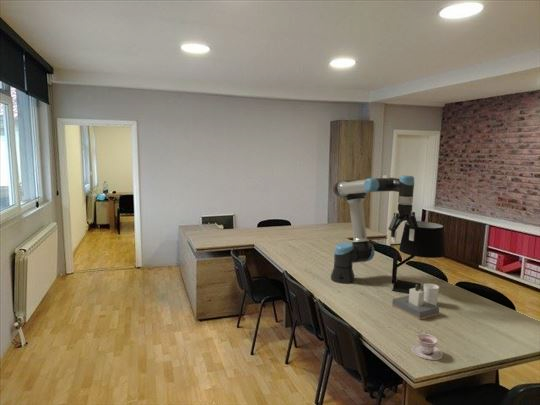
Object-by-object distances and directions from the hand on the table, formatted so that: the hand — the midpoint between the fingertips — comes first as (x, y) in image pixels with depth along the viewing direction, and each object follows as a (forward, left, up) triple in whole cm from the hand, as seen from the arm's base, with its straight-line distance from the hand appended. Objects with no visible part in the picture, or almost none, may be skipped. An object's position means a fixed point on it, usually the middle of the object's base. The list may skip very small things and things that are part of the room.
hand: (402, 241), depth 206 cm
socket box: (+16, -5, -33) cm, 37 cm away
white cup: (+13, +10, -33) cm, 37 cm away
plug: (+16, -5, -32) cm, 36 cm away
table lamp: (-6, +21, -33) cm, 39 cm away
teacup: (+48, -34, -33) cm, 67 cm away
